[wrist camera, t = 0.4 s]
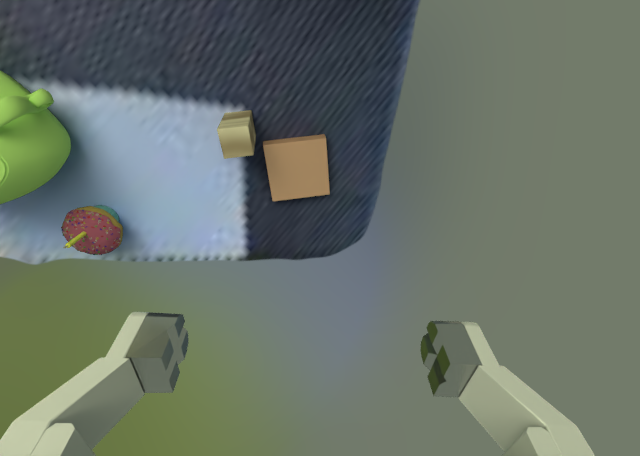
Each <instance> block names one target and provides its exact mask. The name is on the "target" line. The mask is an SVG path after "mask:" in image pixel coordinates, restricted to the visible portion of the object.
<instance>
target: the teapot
mask: <svg viewBox="0 0 640 456" xmlns="http://www.w3.org/2000/svg"><path fill="white" fill-rule="evenodd" d="M53 102H54V100H53V98H52V96H51V94H50V93H49V92H48V91H46V90H44V89H39V90H37V91H35V92H33V93H30V92H29V91H28V90H27V89H25V88H24V87H23V86H22V85H21V84H20V83H18V82H17V81H16V80H14V79H13V78H12V77H10V76H9V75H7V74H6V73H4V72H2V71H0V204H2V203H5V202H8V201H11V200H14V199H16V198H19V197H21V196H24V195H26V194H28V193H30V192H32V191H34V190H36V189H37V188H39V187H40V186H42V185H44V184H45V183H47V182H48V181H49V180H50V179H52V178H53V177H54V176H55V175H56V174H57V172H58V171H59V170H60V169H61V167H62V166H63V164H64V163H65V161H66V160H67V158H68V156H69V154H70V150H71V141H70V137H69V134H68V132H67V131H66V129H65V128H64V127H63V125H62V124H61V123H60V122H59V121H58V120H57V119H56V117H55V116H54V115H53V114H52V113H51V112H50V111H49V110H48V109H47V108H48V107H49V106H50V105H52V104H53Z"/></svg>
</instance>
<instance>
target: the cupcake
mask: <svg viewBox="0 0 640 456" xmlns="http://www.w3.org/2000/svg"><path fill="white" fill-rule="evenodd" d="M61 228H62V233H63V235H64V236H65V238H66V240H67V241H68V243H67V244H66V245H65V247H63V248H66V247H67V248H70V247H71V246H73V247H74V248H75V249H77V250H78V251H80V252H85V253H87V254H93V255H98V254H101V255H102V254H105V253H109V252H111V251H113V250H114V249H116V248H117V247H118V246H119V245H120V244H121V242H122V236H123V227H122V225H121V224H120V223H119V217H118V215H117V213H116V212H115V211H114V210H113V209H111V208H109V207H107V206H102V205H98V206H94V207H92V206H87V207H82V208H77V209H75V210H72V211H70V212H68V213H67V215H66V217H65V220H64V222H63V226H62V227H61Z"/></svg>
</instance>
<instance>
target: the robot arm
mask: <svg viewBox="0 0 640 456" xmlns="http://www.w3.org/2000/svg"><path fill="white" fill-rule="evenodd" d="M184 322H185V320H184V317H183V315H182V314H166V313H148V312H133V313H131V314H130V315H129V316H128V318H127V320H126V321H125V323H124V325H123V327H122V328H121V330H120V332H119V334H118V336H117V337H116V339H115V341H114V343H113V345H112V346H111V348H110V350H109V352H108V353H107V355H106V357H105V358H99V359H98V360H96V361H95V362H94V363H92V364H91V365H89V366H88V367H87V368H85V369H84V370H83V371H81V372H80V373H78V374H77V375H76V376H74V377H73V378H72V379H70V380H69V381H68V382H66V383H65V384H63V385H62V386H61V387H59V388H58V389H57V390H55V391H54V392H52V393H51V394H50V395H49V396H47V397H46V398H44V399H43V400H42V401H40V402H39V403H37V404H36V405H35V406H33V407H32V408H31V409H29V410H28V411H27V412H25V413H24V414H22V415H21V416H20V417H18V418H17V419H16V420H14V421H13V422H12V424H11V425H10V427H9V428H8V430H7V431H6V432H5V434H4V435H3V437H2V438H1V440H0V456H96V455H95V453H94V452H93V451H92V449H93V448H94V447H95V445H97V444H98V442H100V441H101V439H102V438H103V437H104V436H105V435H106V434H107V433H108V432H109V431H110V430H111V429H112V428H113V427H114V426H115V425H116V424H117V423H118V422H119V421H120V420H121V418H123V417H124V416H125V414H126V413H127V412H128V411H129V410H130V409H131V408H132V407H133V406H134V405H135V404H136V403H137V402H138V401H139V400H140V399H141V398H142V397H143V396H144V393H166V392H167V393H169V392H173V391H174V388H175V385H176V382H177V379H178V376H179V373H180V371H179V368H178V364H179V363H181V361H183V360H184V358H185V355H186V352H187V347H188V332H187V330H186V329H185V328H183V325H184ZM427 331H428V333H427V334H426V335H424V336H423V338H422V341H421V356H422V360H423V364H424V365H425V366H426V367H427V368H428V369H429V370H430V372H429V375H428V380H429V383H430V386H431V389H432V393H433V396H442V397H444V396H445V397H459V400H460V401H461V402H462V403H463V404H464V405H465V406H466V408H467V409H468V410H469V411H470V412H471V413H472V415H473V416H474V417H475V418H476V419H477V420H478V422H479V423H480V424H481V425H482V426H483V428H484V429H485V430H486V431H487V432H488V433H489V435H490V436H491V437H492V438H493V439H494V440H495V442H496V443H497V444H498V445H499V446H500V447H501V449H502V450H503V451H504V452H505V453H504V454H503V455H502V456H595V455H594V454H593V452H592V450H591V449H590V447H589V445H588V444H587V442H586V441H585V439H584V437H583V436H582V434H581V432H580V431H579V429H578V428H577V426H576V425H575V424H573V423H572V422H571V421H570V420H569V419H567V418H566V417H565V416H564V415H562V414H561V413H560V412H559V411H557V410H556V409H555V408H554V407H553V406H552V405H550V404H549V403H548V402H546V401H545V400H544V399H543V398H542V397H541V396H539V395H538V394H537V393H536V392H535V391H533V390H532V389H531V388H530V387H529V386H527V385H526V384H525V383H524V382H522V381H521V380H520V379H519V378H518V377H516V376H515V375H514V374H513V373H512V372H510V371H509V370H508V369H506V367H504V366H499V364H498V362H497V360H496V358H495V356H494V354H493V352H492V351H491V349H490V347H489V345H488V343H487V341H486V339H485V337H484V335H483V333H482V331H481V329H480V327H479V325H478V324H477V323H475V322H458V321H431V322H429V324H428V326H427Z"/></svg>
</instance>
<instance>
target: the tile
mask: <svg viewBox="0 0 640 456" xmlns="http://www.w3.org/2000/svg"><path fill="white" fill-rule="evenodd" d="M263 148H264V154H265V160H266V165H267V171H268V177H269V183H270V189H271V194H272V200H273V201H280V200H288V199H296V198H304V197H313V196H321V195H329V194H330V190H329V175H328V160H327V145H326V137H325V135H324V134H322V135H314V136H305V137H296V138H287V139H278V140H270V141H263Z"/></svg>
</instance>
